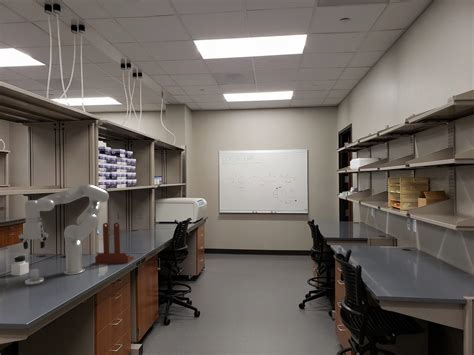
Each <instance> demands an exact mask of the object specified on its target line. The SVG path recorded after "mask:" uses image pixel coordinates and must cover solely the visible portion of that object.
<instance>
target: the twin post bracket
mask: <svg viewBox="0 0 474 355" xmlns="http://www.w3.org/2000/svg"><path fill="white" fill-rule="evenodd" d="M120 229H121V228H120V223H119V222H114V224H113V245H114V246H113V248H114V251H113V253H112V252H110V226H109V223H108V222H104V223H103V224H102V241H103V242H102V243H103V244H102V245H103V253H97V254H96V255H95V256H94V261H95V262H94V264H96V265H97V264H98V265H100V264H104V265H105V264H129V263H130V262H131V261H133V260H134V259H135V256H131V255H129V254H127V253H126V252H122V253H121V231H120Z"/></svg>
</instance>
